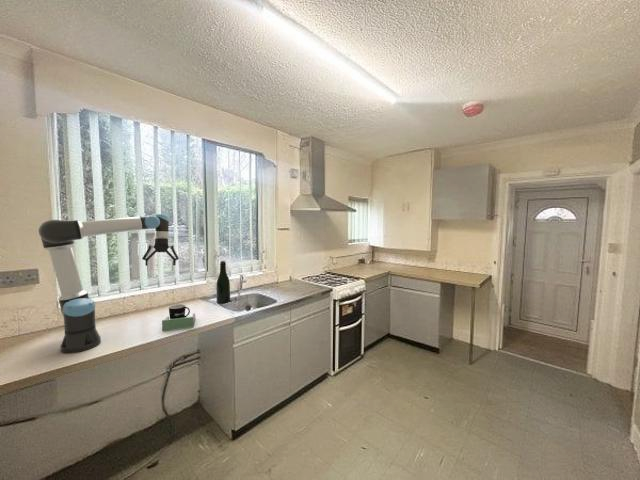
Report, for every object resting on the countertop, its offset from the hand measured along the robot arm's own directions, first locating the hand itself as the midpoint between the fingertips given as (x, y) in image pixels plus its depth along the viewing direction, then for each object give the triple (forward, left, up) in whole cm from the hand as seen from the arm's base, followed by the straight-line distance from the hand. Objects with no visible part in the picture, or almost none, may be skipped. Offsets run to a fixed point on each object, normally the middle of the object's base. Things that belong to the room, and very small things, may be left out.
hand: (160, 270), depth 169 cm
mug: (+12, -12, -31) cm, 36 cm away
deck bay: (+12, -14, -32) cm, 37 cm away
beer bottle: (+39, +27, -32) cm, 57 cm away
